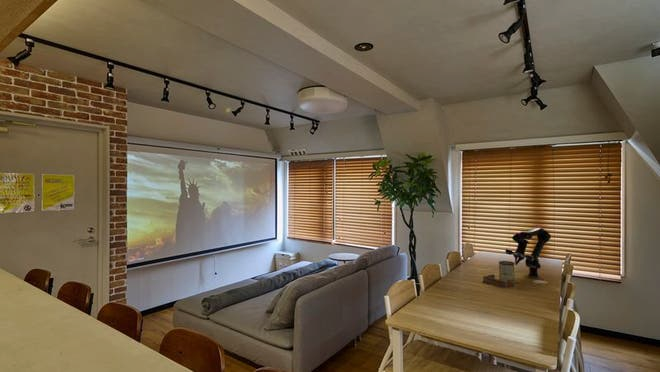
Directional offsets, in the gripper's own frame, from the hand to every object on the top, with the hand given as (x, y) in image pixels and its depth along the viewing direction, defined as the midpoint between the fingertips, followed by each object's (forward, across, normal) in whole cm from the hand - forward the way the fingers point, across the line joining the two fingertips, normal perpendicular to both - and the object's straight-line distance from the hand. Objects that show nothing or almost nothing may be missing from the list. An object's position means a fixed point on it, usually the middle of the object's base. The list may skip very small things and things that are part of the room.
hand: (515, 265), depth 245 cm
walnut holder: (+20, +5, +12) cm, 24 cm away
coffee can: (+15, +2, +4) cm, 16 cm away
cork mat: (+6, -17, -3) cm, 19 cm away
